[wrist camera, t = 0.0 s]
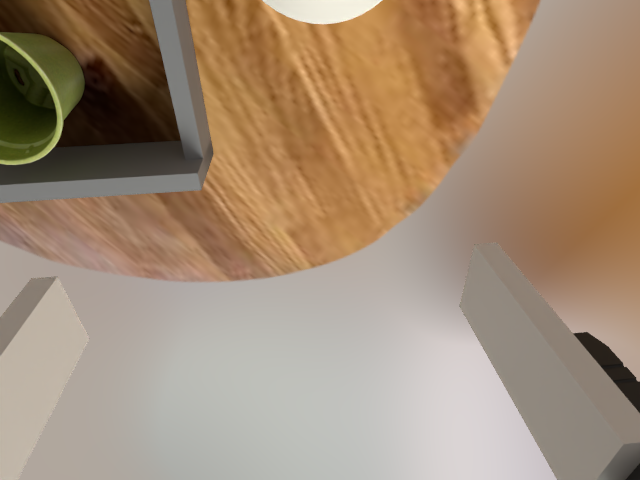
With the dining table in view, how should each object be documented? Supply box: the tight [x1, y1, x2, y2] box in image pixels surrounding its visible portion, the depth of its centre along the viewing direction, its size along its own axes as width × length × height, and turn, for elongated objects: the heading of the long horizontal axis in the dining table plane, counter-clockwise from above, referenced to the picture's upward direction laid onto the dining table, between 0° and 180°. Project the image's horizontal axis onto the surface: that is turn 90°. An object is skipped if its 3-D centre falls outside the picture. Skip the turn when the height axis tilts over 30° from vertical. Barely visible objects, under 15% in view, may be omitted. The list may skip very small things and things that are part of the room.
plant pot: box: [0, 32, 85, 165], centre depth 30 cm, size 9×9×9 cm
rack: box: [0, 0, 213, 203], centre depth 29 cm, size 20×26×8 cm
